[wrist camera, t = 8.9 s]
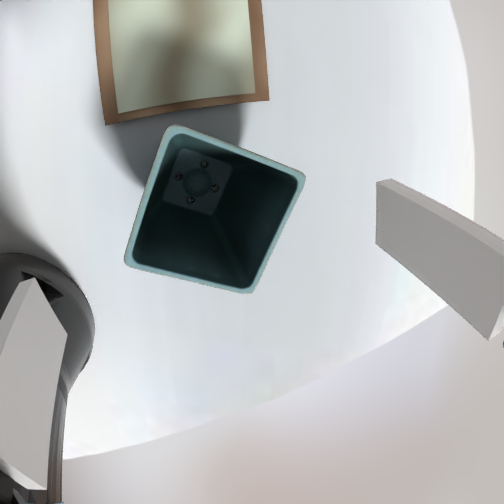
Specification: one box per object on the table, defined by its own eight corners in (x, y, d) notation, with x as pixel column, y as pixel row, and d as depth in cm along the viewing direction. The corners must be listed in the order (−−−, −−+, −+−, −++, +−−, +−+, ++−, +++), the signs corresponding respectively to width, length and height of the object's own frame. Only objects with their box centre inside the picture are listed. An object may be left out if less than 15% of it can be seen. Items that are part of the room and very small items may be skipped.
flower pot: (165, 113, 23) (168, 121, 15) (264, 149, 26) (310, 175, 19) (130, 213, 26) (121, 266, 18) (225, 240, 29) (252, 296, 22)
